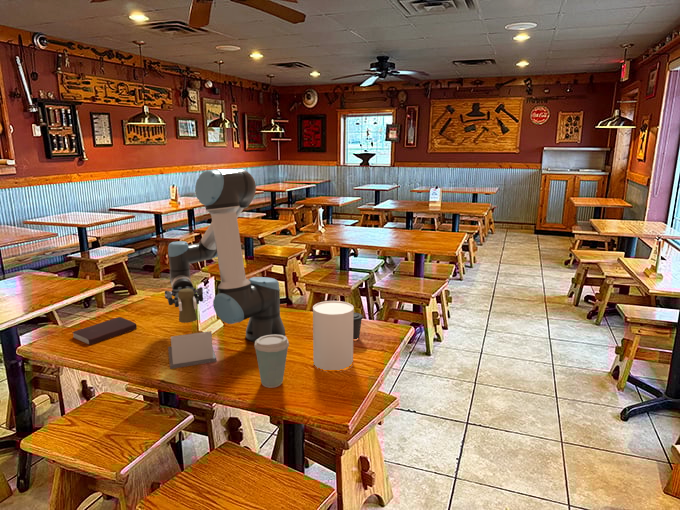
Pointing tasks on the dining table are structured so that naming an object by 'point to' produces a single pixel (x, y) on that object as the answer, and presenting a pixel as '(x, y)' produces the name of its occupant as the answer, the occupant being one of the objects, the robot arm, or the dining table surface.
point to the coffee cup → (356, 325)
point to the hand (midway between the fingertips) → (188, 306)
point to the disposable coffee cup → (271, 359)
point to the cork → (187, 306)
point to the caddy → (191, 350)
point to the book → (104, 330)
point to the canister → (333, 335)
